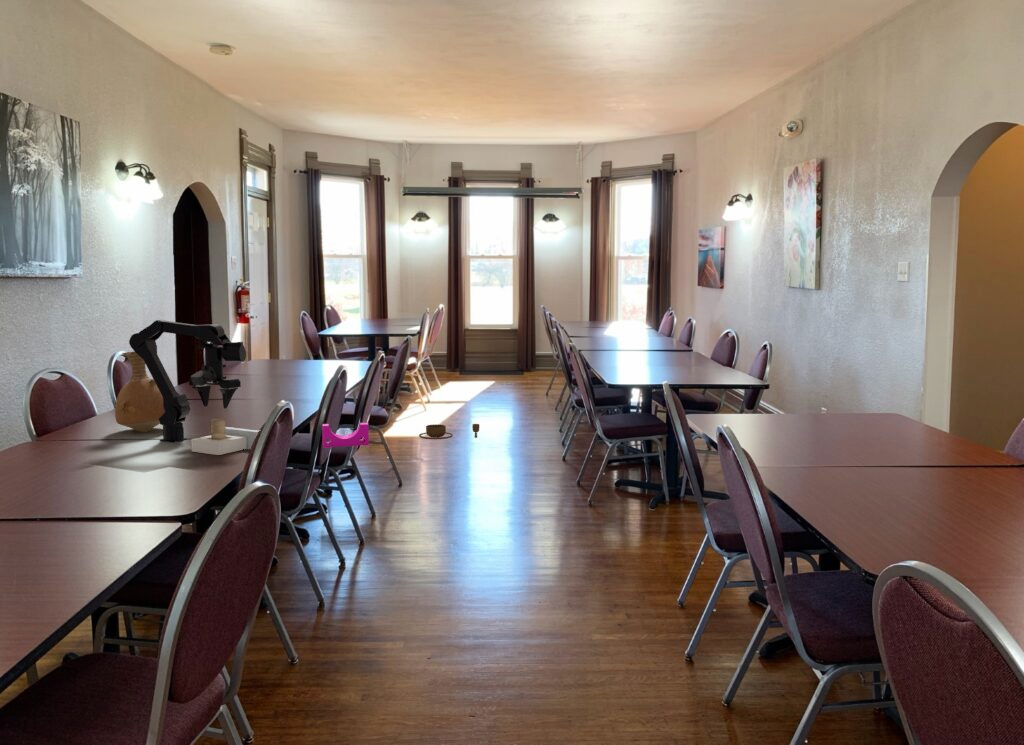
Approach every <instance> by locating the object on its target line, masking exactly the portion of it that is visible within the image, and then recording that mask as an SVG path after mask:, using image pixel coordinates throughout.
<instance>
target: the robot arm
mask: <svg viewBox="0 0 1024 745" xmlns="http://www.w3.org/2000/svg"><path fill="white" fill-rule="evenodd" d="M164 333H165V334H174V335H175V334H176V335H180V336H181V335H182V336H187V337H188V336H189V337H193V338H196V339H198V340H201V341H202V342H201V344H199V345H198V347H197V348H198V349H204V364H202V366H201V370H199V371H196V372H195V373H193V374H192V375H190V378H189V380H188V385H189V386H191V388H192V389H194V390H195V391H196V392H198V395H199V397H200V399H201V402H202V404H203V407H208V404H209V400H210V394H211V393H210V392H211V386H212V385H213V386H219V387H220V388H219V391H220V392H221V394H222V395H221V396H222V405H223V406H222V407H223V409H227V408H228V407H229V404H230V402H231V400H232V398H233V396H234V394H235V392H236V391H237V390H238V389H239V388H241V386H242V384H241V380H240V379H239V378H234V377H232V378H227V376H225V375H224V368H226V367H227V365H226V364H225V363H224V361H225V362H227V363H244V362H245V361H246V359H247V351H246V348H245V346H244V342H243V341H238V342H237V341H234V342H233V341H231V340H230V339H229V337H228V335H227V334H226V333H225V329H224V327H223V326H222V325H221V324H219V323H218V324H215V323H214V324H191V323H183V322H176V321H169V320H165V319H157V320H155V321H153V322H152V323H151V324H149V325H148V326H147V327H145V328H143V329H141V330H140V331H139V332H136V333H133V334H131V336H130V338H129V340H128V343H129V346H130V348H131V349H132V350H133V352H135V353H136V354H137V355H138V356H139V357H141V358H142V359H143V360H144V362H145V367H147V369H148V372H149V374H150V376H151V377H152V379H154V381H155V383H156V385H157V387H158V389H159V391H160V393H161V395H162V397H163V407H164V410H165V413H164V414H163V415H162V416H161V417H160V418H159V422H160V424H159V425H161V426H162V437H163V438H161V439H159V442H164V443H172V444H173V443H178V442H182V441H187V440H188V438H185V434H184V424H183V422H185V421H186V418H187V417H188V416H189V414H190V411H191V407H190V406H191V402H189V400H188V399H187V396H186V394H185V393H182V394H181V393H179V392H178V390H176V388H175V386H174V384H173V383H172V381H171V379H170V377H169V374H168V373H167V370H166V368H165V367H164V365H163V363H162V361H161V359H160V358H159V355H158V345H157V340H158V339H160V337H161V336H162V335H163V334H164Z"/></svg>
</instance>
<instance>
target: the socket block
mask: <svg viewBox="0 0 1024 745" xmlns="http://www.w3.org/2000/svg"><path fill="white" fill-rule="evenodd" d="M190 441H191V452H192V453H193V452H195V453H200V454H208V455H214V456H221V455H225V454H230V453H234V452H238V451H243V449H244V450H248V449H247V437H245V436H236V435H228V434H226V439H223V440H213V439H212V438H211V435H206V436H202V437H196V438H192V439H191V440H190Z"/></svg>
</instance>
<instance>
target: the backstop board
mask: <svg viewBox="0 0 1024 745" xmlns="http://www.w3.org/2000/svg"><path fill="white" fill-rule="evenodd" d="M259 431H260V430H259V429H258V430H256V429H248V428H239V427H238V428H237V427H232V426H231V427H230V426H226V434H228V435H236V436H245V437H247V449H246V450H251V449H250V447H251V445H252V443H253V441H254V439H255V438H256V436H257V434H258V432H259Z"/></svg>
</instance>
